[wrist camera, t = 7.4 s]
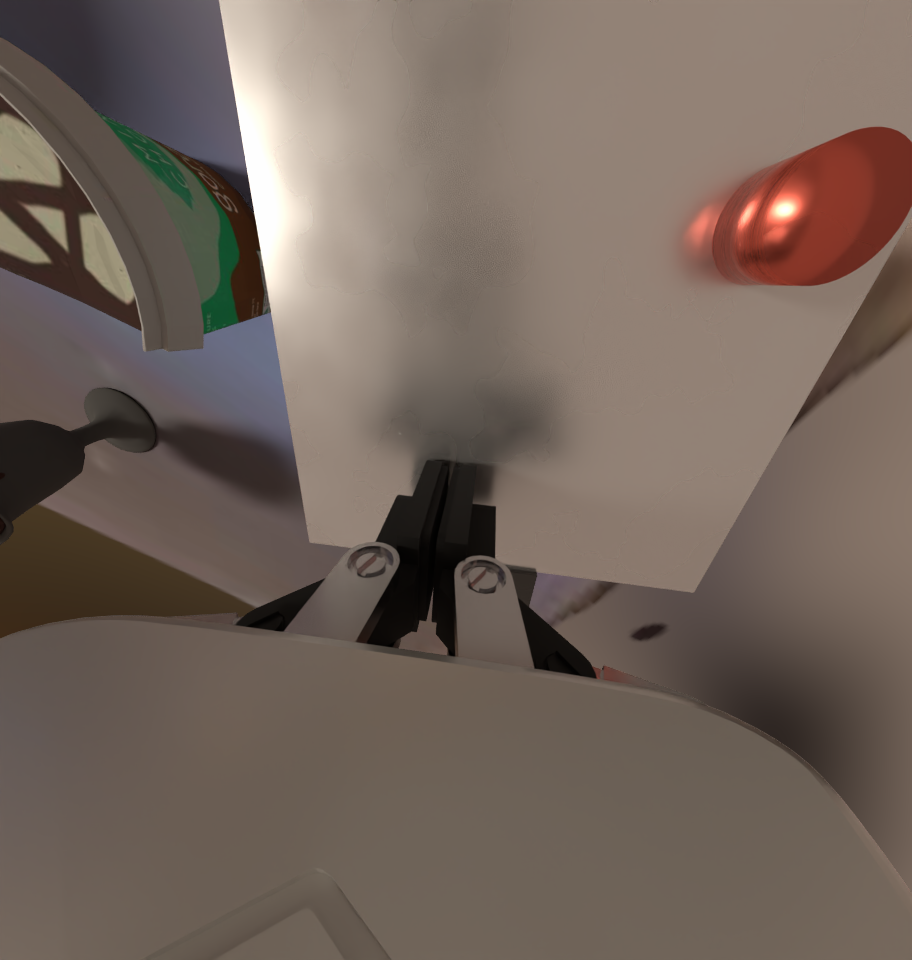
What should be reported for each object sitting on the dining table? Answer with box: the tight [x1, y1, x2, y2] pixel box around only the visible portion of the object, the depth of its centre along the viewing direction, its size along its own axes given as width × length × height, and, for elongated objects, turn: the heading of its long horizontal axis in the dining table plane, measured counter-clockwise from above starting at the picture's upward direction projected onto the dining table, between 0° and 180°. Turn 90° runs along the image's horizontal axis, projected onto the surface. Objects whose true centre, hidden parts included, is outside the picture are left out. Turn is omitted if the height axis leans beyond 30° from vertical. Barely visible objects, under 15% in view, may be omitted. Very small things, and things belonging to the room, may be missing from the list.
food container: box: [0, 38, 271, 352], centre depth 14 cm, size 12×6×10 cm, turn 63°
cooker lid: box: [219, 0, 912, 607], centre depth 11 cm, size 20×14×3 cm
